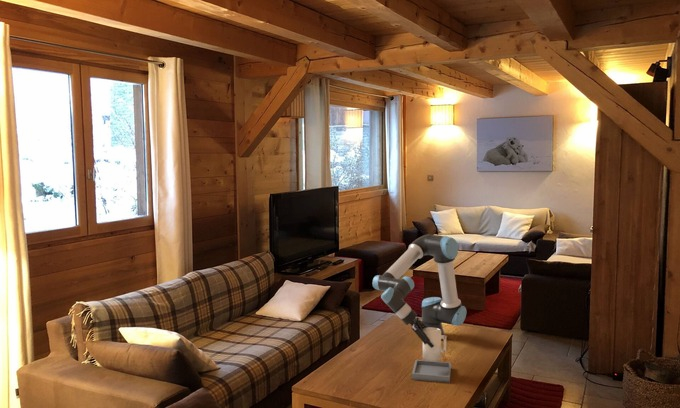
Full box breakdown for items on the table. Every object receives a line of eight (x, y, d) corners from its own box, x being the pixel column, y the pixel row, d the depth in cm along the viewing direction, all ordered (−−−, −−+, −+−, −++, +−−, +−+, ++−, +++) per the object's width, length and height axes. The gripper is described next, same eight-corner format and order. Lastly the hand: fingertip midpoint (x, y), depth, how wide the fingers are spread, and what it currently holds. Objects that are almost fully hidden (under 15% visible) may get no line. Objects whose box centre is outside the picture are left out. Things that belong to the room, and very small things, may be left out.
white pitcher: (423, 353, 286) (423, 326, 284) (446, 355, 283) (446, 328, 282) (421, 360, 277) (422, 332, 275) (445, 362, 274) (446, 334, 273)
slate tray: (415, 365, 292) (415, 359, 292) (450, 368, 288) (451, 362, 288) (411, 379, 275) (411, 373, 275) (449, 382, 271) (449, 376, 270)
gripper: (403, 312, 292) (434, 345, 290) (398, 325, 271) (431, 360, 269) (414, 303, 290) (444, 335, 289) (409, 315, 269) (442, 351, 268)
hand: (438, 347), depth 279 cm, fingers closed on white pitcher, 9 cm apart
